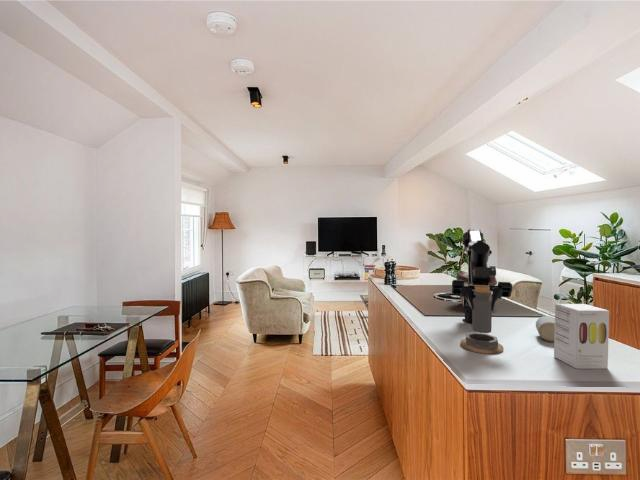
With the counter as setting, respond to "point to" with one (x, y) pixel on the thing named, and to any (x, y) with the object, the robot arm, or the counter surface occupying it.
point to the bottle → (482, 310)
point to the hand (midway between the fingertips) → (482, 309)
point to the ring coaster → (495, 351)
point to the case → (464, 276)
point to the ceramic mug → (546, 327)
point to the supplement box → (581, 335)
